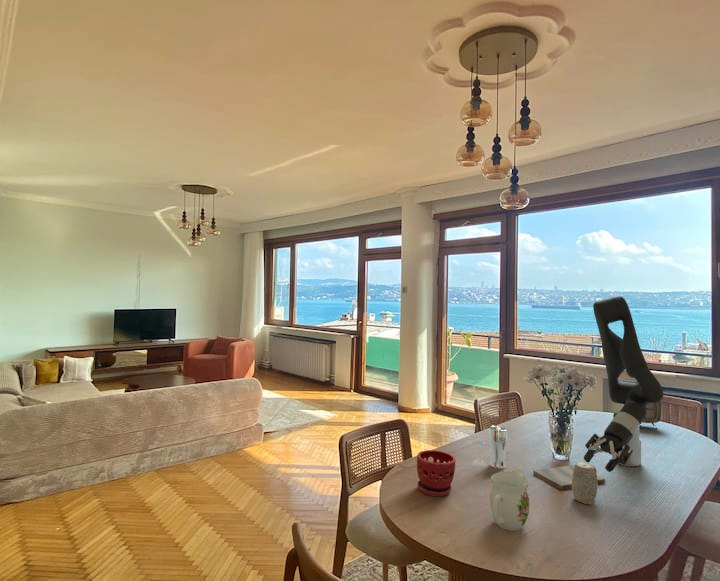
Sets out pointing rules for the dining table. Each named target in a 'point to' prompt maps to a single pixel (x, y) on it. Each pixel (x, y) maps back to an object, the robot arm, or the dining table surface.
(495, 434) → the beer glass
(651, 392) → the robot arm
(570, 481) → the walnut board
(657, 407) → the tabletop clock
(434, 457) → the plant pot
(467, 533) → the dining table surface
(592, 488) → the carving
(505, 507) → the pitcher
